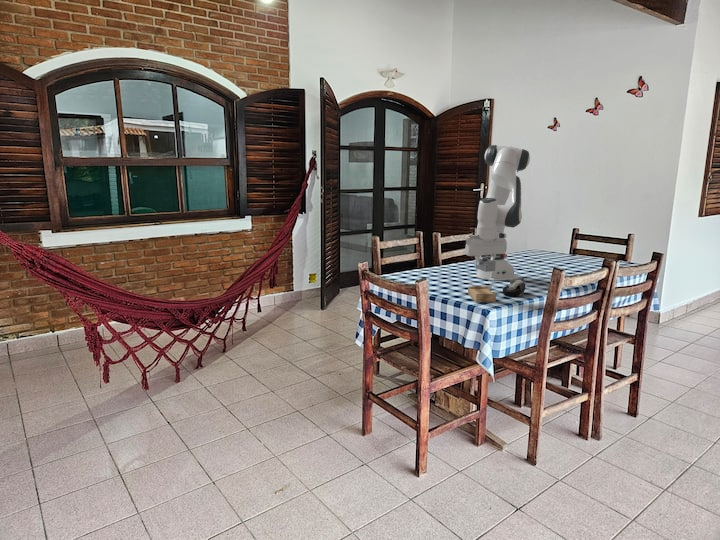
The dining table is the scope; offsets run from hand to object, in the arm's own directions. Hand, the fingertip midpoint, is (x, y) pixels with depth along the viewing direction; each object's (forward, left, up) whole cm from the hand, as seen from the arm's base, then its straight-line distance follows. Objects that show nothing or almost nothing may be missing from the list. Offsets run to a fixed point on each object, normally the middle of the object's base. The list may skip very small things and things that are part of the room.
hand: (484, 264), depth 227 cm
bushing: (-5, -11, -16) cm, 20 cm away
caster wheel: (-17, -6, -16) cm, 24 cm away
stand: (+1, 0, -16) cm, 16 cm away
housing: (0, 0, -2) cm, 2 cm away
